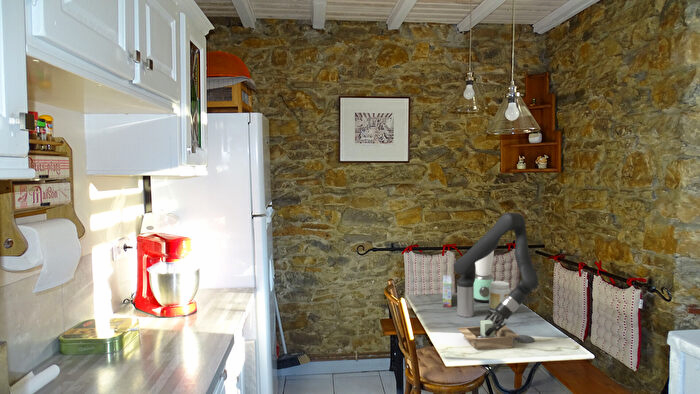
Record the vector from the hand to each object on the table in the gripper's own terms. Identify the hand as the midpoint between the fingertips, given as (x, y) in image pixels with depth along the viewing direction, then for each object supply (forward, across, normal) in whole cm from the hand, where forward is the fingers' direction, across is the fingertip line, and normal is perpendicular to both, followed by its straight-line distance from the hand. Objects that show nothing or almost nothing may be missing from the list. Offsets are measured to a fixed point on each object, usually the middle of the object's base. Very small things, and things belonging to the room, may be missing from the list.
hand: (483, 332), depth 212 cm
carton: (+2, 0, +5) cm, 5 cm away
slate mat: (-11, 0, +18) cm, 21 cm away
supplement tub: (-17, -42, +24) cm, 51 cm away
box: (+2, 0, +5) cm, 5 cm away
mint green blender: (-17, -65, +24) cm, 71 cm away
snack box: (0, -65, +7) cm, 65 cm away
